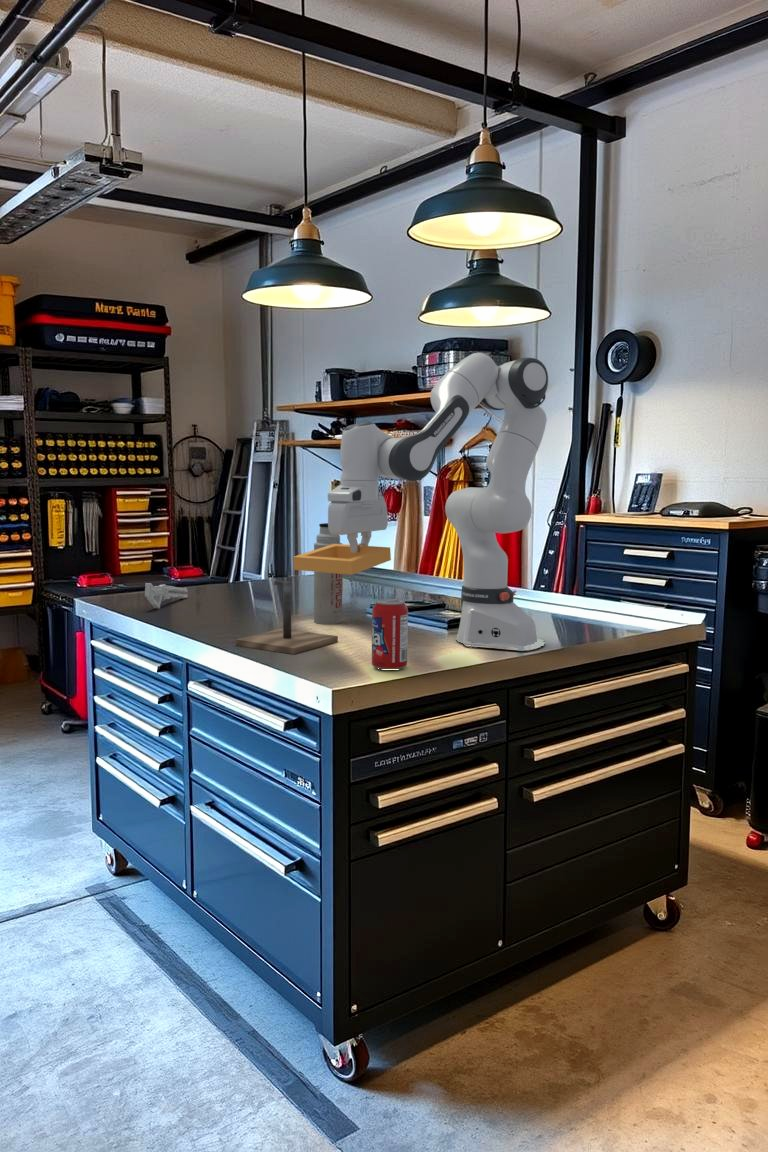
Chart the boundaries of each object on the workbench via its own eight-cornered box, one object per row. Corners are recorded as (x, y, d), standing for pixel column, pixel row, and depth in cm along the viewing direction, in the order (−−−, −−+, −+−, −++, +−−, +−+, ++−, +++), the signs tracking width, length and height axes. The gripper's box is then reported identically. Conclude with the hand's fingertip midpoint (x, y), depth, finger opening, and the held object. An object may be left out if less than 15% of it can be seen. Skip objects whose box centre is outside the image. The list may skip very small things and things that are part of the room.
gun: (143, 608, 264) (144, 582, 265) (182, 610, 294) (183, 586, 294) (149, 608, 264) (150, 582, 264) (187, 610, 294) (189, 587, 294)
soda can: (408, 672, 192) (409, 603, 190) (372, 672, 191) (372, 603, 189) (405, 664, 199) (406, 598, 198) (370, 664, 199) (371, 598, 197)
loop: (390, 560, 206) (390, 547, 205) (352, 574, 193) (351, 561, 192) (334, 555, 214) (333, 543, 214) (294, 569, 201) (292, 556, 200)
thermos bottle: (347, 622, 251) (348, 523, 248) (324, 625, 246) (325, 524, 243) (331, 618, 257) (331, 522, 254) (308, 621, 252) (308, 523, 249)
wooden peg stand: (337, 641, 223) (337, 581, 221) (293, 654, 208) (293, 589, 206) (281, 634, 233) (281, 575, 231) (235, 645, 218) (234, 582, 216)
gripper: (372, 491, 217) (372, 547, 219) (322, 493, 200) (323, 554, 202) (394, 491, 214) (393, 548, 216) (345, 494, 197) (346, 556, 199)
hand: (359, 551), depth 209 cm, fingers closed on loop, 2 cm apart
